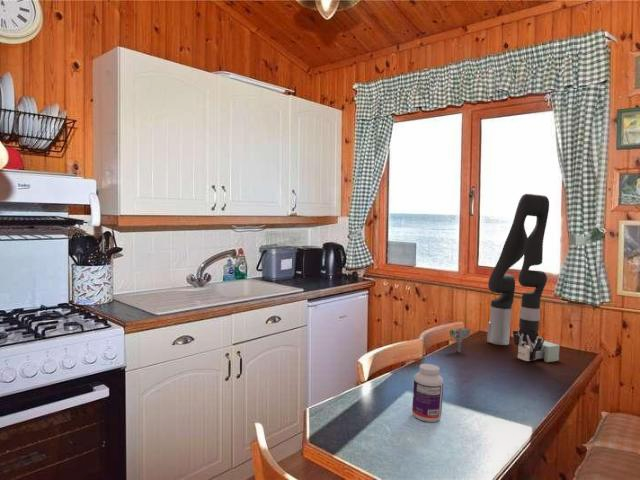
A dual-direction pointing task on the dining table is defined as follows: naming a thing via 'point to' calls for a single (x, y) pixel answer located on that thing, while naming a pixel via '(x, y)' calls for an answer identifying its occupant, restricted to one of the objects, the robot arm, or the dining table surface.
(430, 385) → the pill bottle
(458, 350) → the mechanical component
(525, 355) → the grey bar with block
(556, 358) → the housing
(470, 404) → the dining table surface
